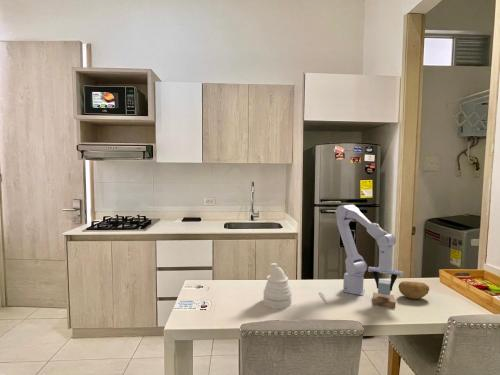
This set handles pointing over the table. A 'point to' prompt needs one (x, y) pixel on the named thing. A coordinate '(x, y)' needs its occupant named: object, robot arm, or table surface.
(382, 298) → the walnut block
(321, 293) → the butter knife
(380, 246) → the robot arm
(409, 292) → the potato
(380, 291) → the cube
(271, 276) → the honey pot
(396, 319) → the table surface
